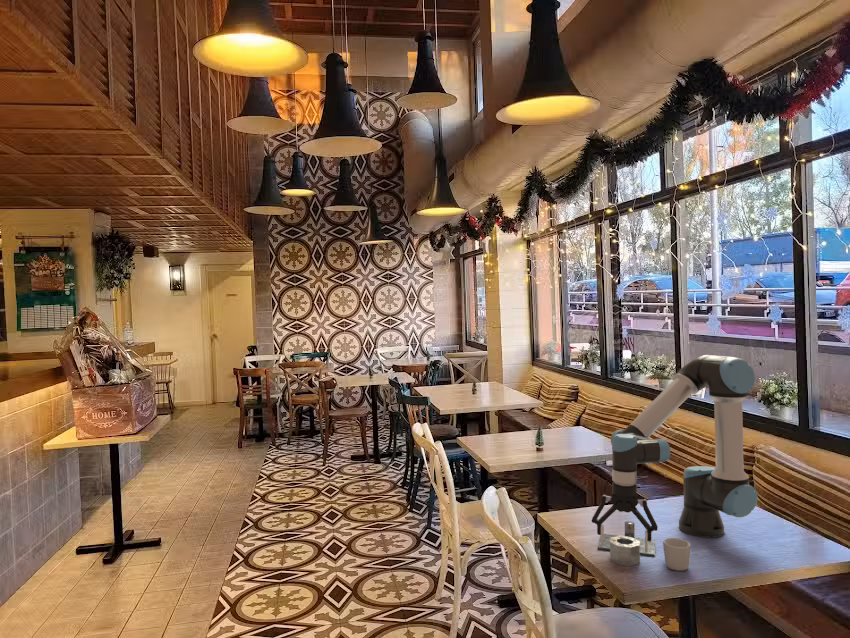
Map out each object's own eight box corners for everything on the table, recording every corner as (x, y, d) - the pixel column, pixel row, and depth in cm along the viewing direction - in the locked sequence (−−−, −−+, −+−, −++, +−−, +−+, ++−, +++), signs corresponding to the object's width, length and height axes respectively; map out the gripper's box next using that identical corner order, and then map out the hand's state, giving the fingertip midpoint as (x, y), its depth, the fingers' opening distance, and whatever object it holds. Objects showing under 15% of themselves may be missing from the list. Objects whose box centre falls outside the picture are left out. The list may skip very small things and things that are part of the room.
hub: (640, 556, 195) (639, 537, 195) (639, 567, 187) (639, 547, 187) (611, 552, 199) (611, 534, 199) (609, 563, 190) (609, 544, 190)
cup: (654, 559, 193) (654, 534, 193) (678, 558, 194) (677, 533, 193) (671, 574, 182) (670, 548, 182) (695, 572, 183) (695, 546, 183)
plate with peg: (654, 542, 207) (654, 519, 207) (654, 556, 195) (654, 532, 195) (601, 535, 213) (600, 513, 213) (597, 549, 201) (597, 526, 201)
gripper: (665, 483, 191) (665, 549, 192) (586, 475, 200) (585, 538, 201) (666, 490, 184) (665, 557, 185) (583, 481, 193) (583, 546, 194)
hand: (623, 547), depth 193 cm, fingers open, 13 cm apart
